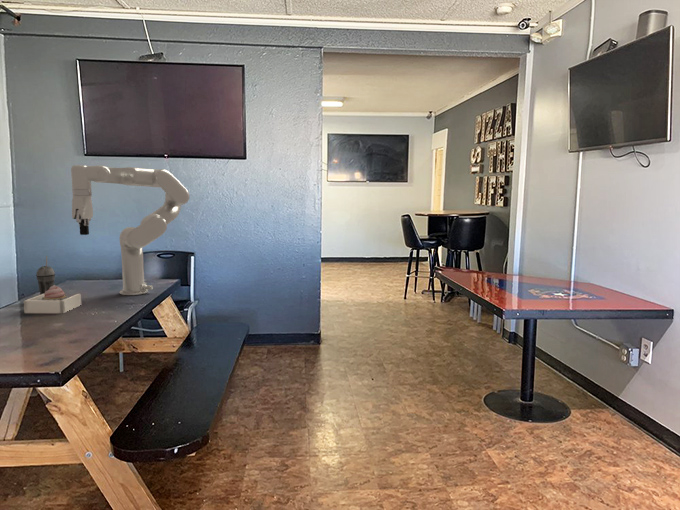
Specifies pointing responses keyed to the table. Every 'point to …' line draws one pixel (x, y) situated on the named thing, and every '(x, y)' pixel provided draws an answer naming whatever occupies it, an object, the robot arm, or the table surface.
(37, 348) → the table surface
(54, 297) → the cupcake
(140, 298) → the table surface
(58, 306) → the box
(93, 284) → the table surface
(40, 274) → the beverage cup
